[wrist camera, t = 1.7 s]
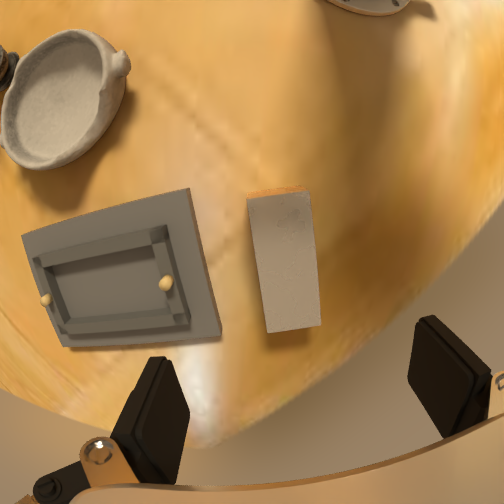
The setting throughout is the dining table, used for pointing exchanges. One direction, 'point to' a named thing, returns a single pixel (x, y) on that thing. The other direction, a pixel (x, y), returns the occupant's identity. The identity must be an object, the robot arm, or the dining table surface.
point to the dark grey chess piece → (7, 67)
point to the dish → (62, 99)
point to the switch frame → (126, 274)
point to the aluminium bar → (285, 257)
